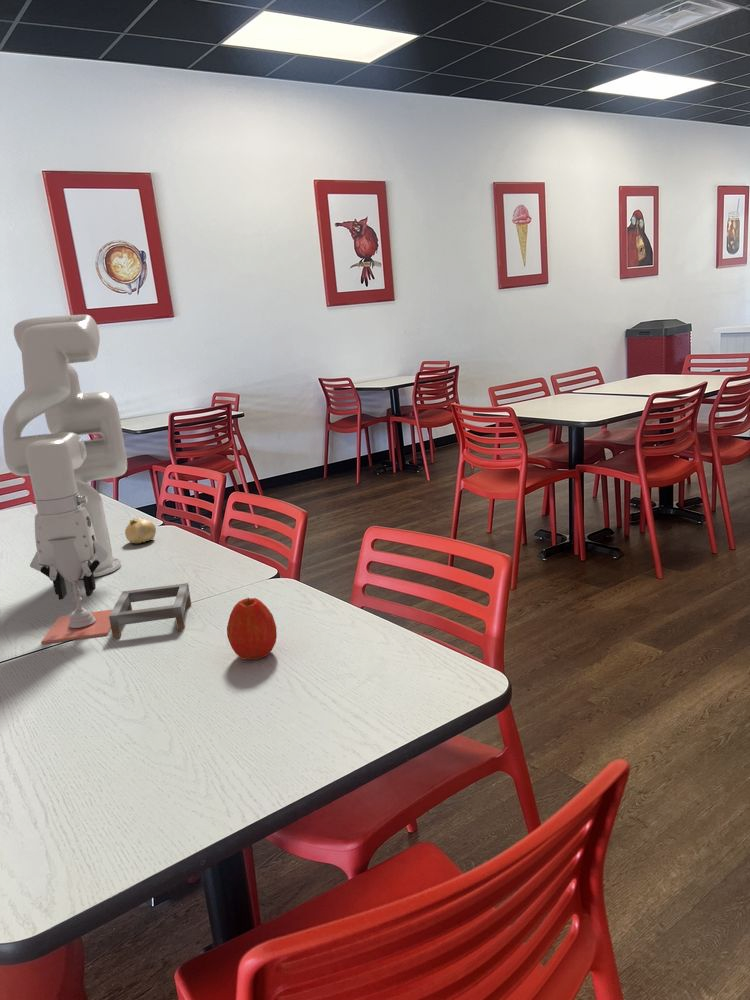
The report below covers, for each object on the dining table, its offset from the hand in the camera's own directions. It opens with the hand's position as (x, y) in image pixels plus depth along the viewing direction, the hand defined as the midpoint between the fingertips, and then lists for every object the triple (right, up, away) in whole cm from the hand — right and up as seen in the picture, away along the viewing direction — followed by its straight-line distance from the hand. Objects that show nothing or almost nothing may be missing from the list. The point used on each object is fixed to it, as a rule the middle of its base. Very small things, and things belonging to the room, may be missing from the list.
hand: (76, 594), depth 138 cm
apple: (+38, -8, -17) cm, 42 cm away
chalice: (0, -6, +1) cm, 6 cm away
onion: (-6, +7, +57) cm, 57 cm away
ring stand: (+15, -5, +1) cm, 16 cm away
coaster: (+1, -6, +1) cm, 7 cm away
